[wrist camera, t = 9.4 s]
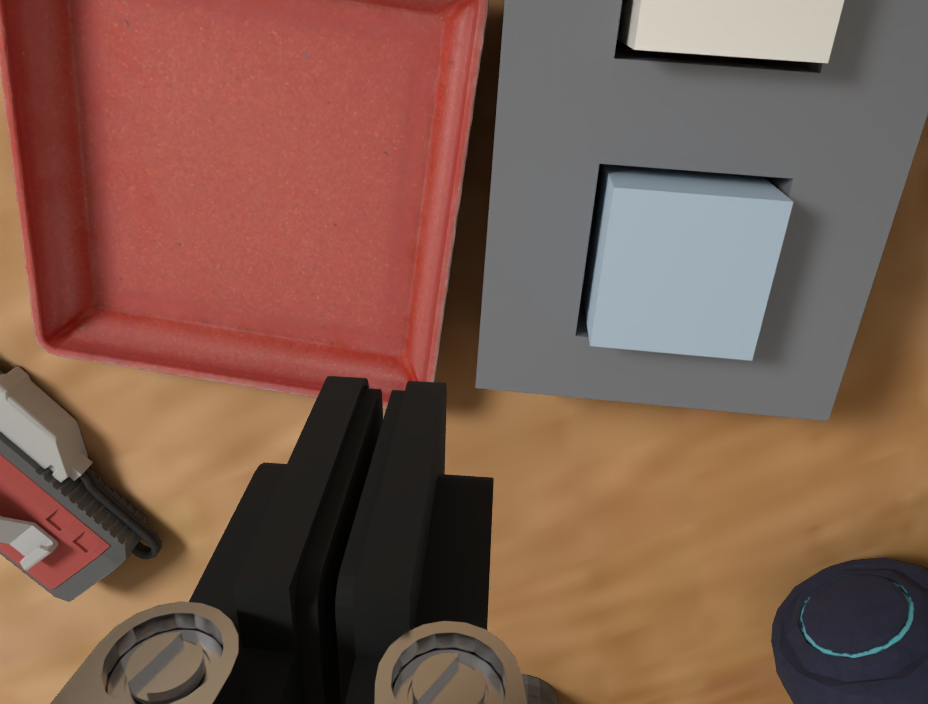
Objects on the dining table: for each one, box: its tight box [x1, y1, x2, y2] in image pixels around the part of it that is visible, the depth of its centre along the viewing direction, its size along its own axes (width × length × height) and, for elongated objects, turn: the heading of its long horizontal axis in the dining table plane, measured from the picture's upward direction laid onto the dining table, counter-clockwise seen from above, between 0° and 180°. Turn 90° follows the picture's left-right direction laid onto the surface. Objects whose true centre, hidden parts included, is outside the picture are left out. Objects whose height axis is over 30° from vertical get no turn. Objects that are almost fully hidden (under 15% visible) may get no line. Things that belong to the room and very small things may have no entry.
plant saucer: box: [0, 0, 489, 409], centre depth 31 cm, size 18×18×3 cm
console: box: [475, 0, 928, 421], centre depth 27 cm, size 22×14×5 cm, turn 177°
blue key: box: [582, 164, 793, 361], centre depth 28 cm, size 6×6×5 cm
